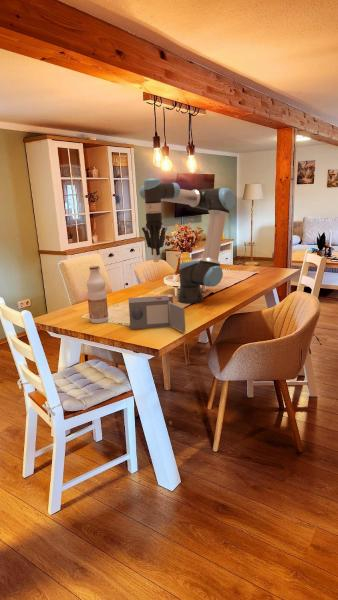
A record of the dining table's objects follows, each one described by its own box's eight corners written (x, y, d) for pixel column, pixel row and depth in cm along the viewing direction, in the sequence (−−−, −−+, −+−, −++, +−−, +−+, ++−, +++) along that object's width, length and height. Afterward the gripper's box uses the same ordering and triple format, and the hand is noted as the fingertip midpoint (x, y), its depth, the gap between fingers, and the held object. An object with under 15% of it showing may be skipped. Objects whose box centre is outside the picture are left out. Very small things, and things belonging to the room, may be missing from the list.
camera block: (168, 320, 198) (167, 293, 194) (171, 327, 188) (169, 299, 184) (130, 323, 196) (128, 296, 192) (130, 330, 186) (128, 301, 182)
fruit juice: (97, 324, 196) (92, 268, 189) (86, 321, 203) (80, 267, 196) (112, 320, 203) (107, 265, 196) (100, 317, 209) (96, 264, 202)
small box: (158, 317, 204) (157, 297, 201) (156, 314, 209) (155, 295, 207) (173, 316, 205) (173, 296, 203) (171, 313, 211) (170, 293, 208)
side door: (168, 326, 188) (167, 301, 185) (171, 325, 189) (170, 301, 186) (182, 333, 178) (181, 307, 175) (185, 332, 178) (184, 306, 175)
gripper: (137, 213, 188) (140, 262, 194) (161, 212, 182) (164, 263, 188) (145, 212, 195) (148, 260, 201) (169, 211, 189) (171, 261, 195)
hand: (156, 261), depth 195 cm, fingers closed
